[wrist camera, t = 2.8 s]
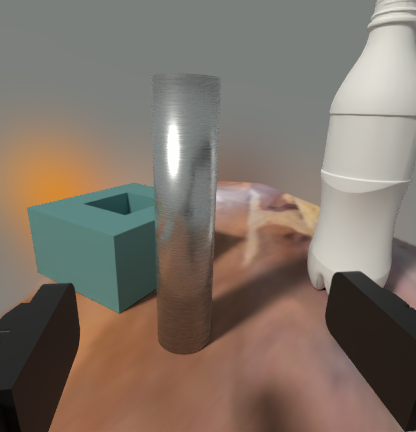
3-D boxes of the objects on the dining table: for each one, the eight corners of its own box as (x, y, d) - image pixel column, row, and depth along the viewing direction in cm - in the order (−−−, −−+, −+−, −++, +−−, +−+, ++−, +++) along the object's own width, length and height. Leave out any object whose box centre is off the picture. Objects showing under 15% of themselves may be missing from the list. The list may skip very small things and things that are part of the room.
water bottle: (396, 315, 26) (492, -34, 18) (311, 307, 27) (367, -31, 19) (365, 274, 33) (425, 6, 25) (298, 268, 34) (335, 7, 26)
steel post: (179, 312, 26) (179, 82, 20) (220, 330, 24) (233, 80, 18) (146, 339, 23) (135, 75, 17) (190, 362, 21) (195, 72, 15)
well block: (135, 231, 43) (133, 182, 40) (208, 253, 37) (210, 197, 34) (37, 272, 31) (27, 207, 29) (119, 313, 25) (113, 236, 23)
